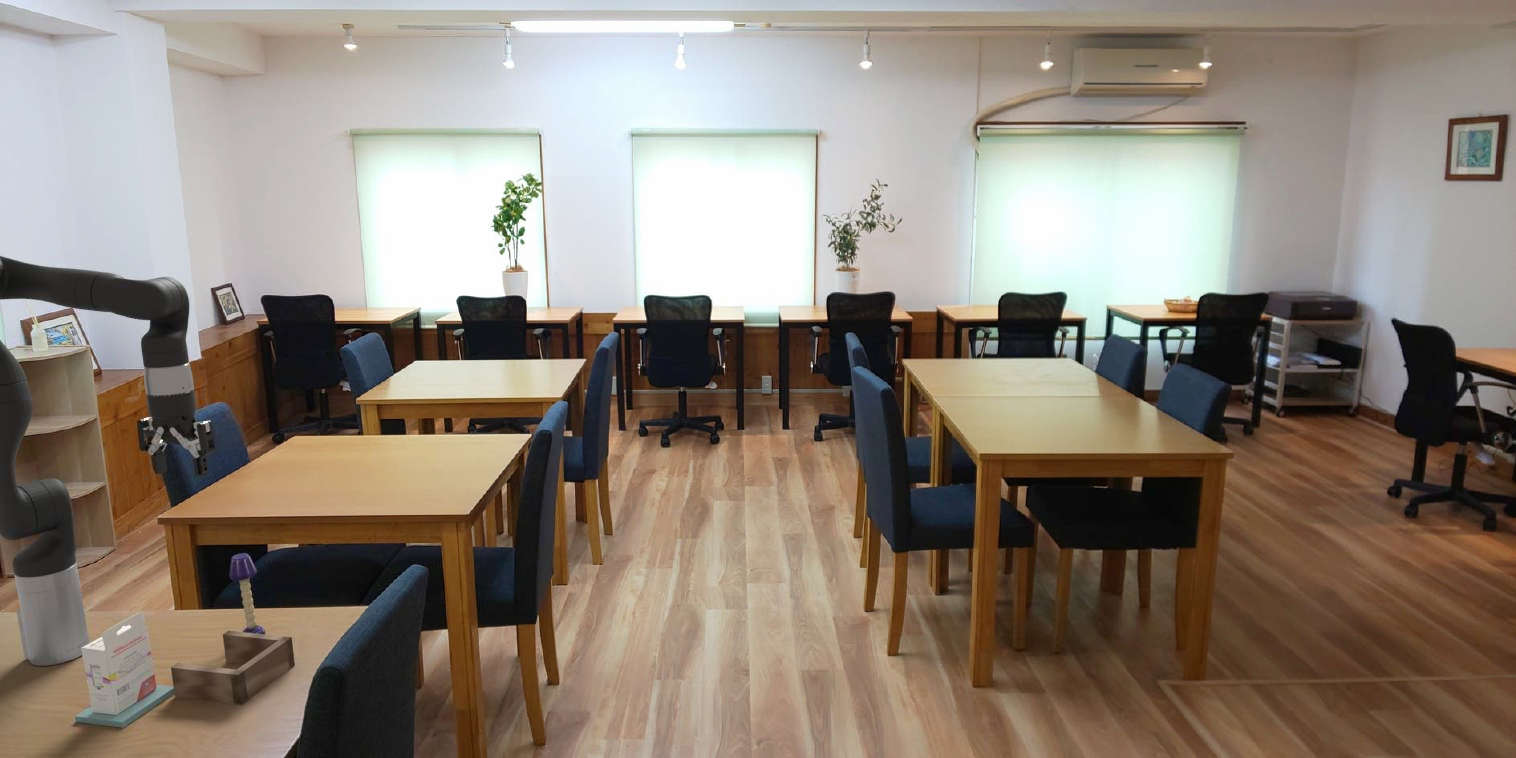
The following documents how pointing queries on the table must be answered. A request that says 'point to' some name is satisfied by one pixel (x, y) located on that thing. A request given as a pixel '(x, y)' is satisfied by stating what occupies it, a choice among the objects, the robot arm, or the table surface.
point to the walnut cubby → (260, 668)
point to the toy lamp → (245, 588)
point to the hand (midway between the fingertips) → (181, 474)
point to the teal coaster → (130, 712)
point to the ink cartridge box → (119, 666)
